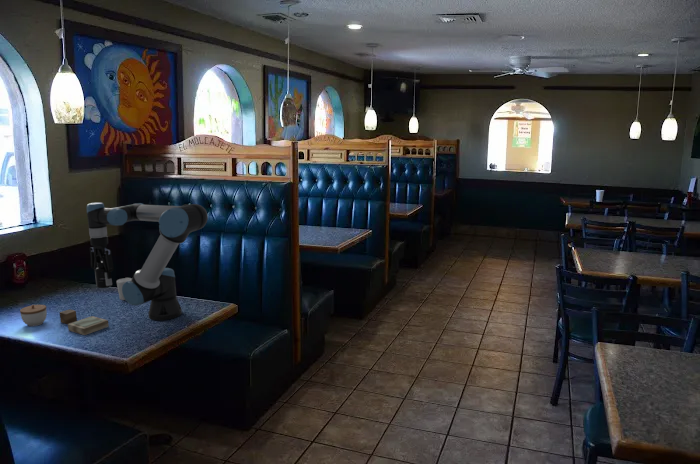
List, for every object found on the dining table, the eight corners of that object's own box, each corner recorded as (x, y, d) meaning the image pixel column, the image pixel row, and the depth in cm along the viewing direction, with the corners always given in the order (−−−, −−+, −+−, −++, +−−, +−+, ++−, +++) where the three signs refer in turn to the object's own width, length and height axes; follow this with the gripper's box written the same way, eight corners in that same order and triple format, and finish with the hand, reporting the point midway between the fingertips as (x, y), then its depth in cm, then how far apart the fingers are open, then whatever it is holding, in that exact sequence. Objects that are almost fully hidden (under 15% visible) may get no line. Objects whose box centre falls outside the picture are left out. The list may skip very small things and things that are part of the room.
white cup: (128, 300, 292) (126, 282, 290) (115, 300, 293) (113, 282, 291) (137, 296, 299) (135, 278, 297) (124, 295, 301) (122, 277, 299)
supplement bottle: (102, 289, 258) (99, 264, 256) (93, 287, 262) (90, 262, 260) (115, 285, 264) (112, 260, 262) (106, 283, 268) (103, 259, 265)
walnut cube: (77, 320, 264) (75, 310, 263) (67, 324, 260) (65, 314, 259) (70, 319, 267) (69, 309, 266) (60, 322, 263) (59, 312, 262)
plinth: (108, 326, 255) (108, 319, 255) (84, 335, 245) (83, 328, 245) (92, 322, 262) (92, 315, 261) (68, 330, 252) (67, 323, 251)
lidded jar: (20, 323, 262) (17, 304, 260) (46, 318, 268) (43, 299, 266) (24, 330, 254) (21, 310, 252) (50, 324, 260) (47, 305, 258)
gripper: (119, 236, 256) (124, 285, 261) (93, 232, 267) (98, 279, 271) (104, 239, 250) (110, 289, 254) (78, 235, 260) (84, 283, 265)
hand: (104, 284), depth 263 cm, fingers closed on supplement bottle, 7 cm apart
